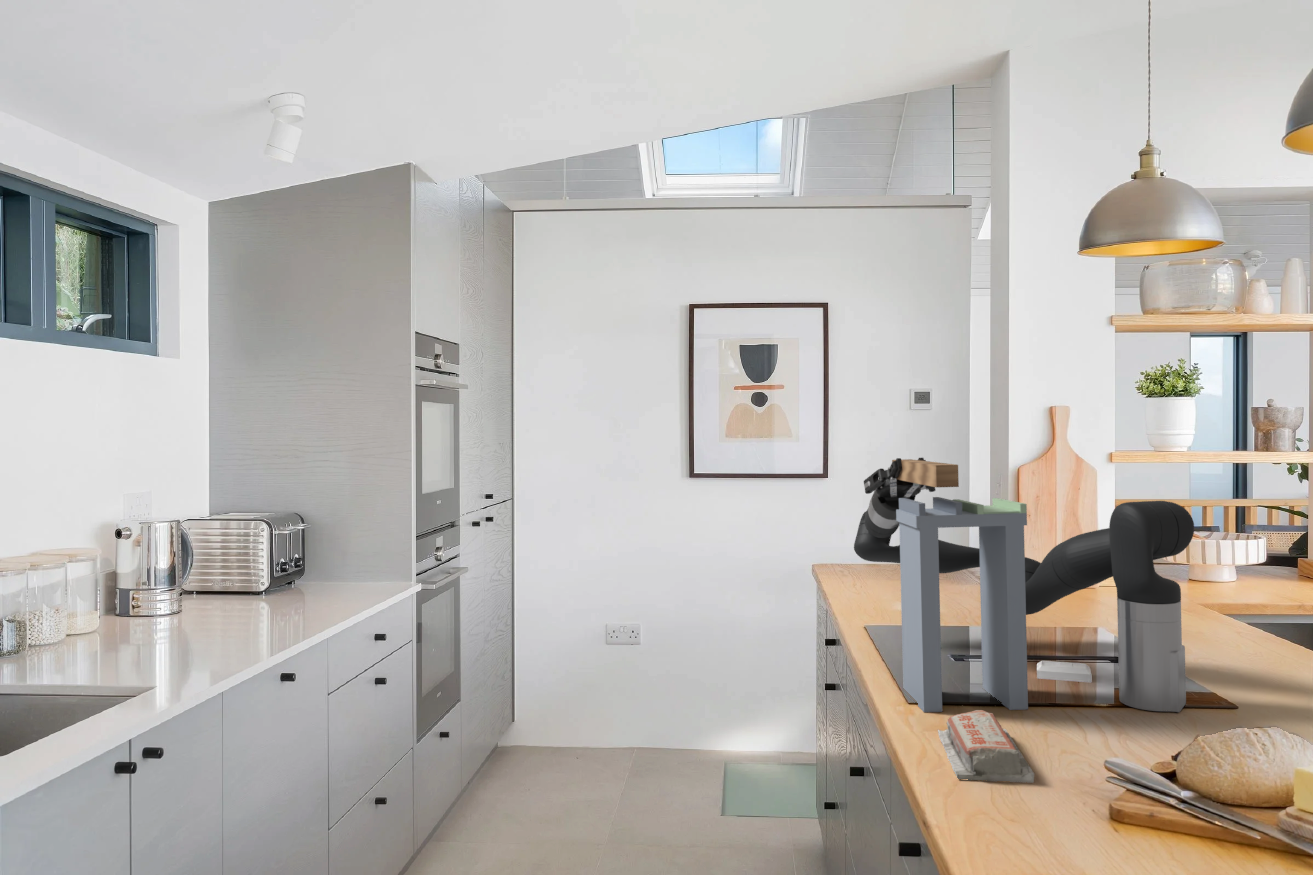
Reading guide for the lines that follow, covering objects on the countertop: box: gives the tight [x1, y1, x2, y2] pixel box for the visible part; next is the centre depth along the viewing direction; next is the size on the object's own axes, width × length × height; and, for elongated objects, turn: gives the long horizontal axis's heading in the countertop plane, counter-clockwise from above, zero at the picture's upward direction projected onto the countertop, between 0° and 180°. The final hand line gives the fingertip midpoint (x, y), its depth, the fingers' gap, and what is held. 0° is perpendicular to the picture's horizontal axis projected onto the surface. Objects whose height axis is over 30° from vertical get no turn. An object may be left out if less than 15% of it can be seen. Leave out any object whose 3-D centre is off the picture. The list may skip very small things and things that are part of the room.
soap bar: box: [1036, 660, 1093, 684], centre depth 165 cm, size 5×9×3 cm, turn 67°
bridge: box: [896, 496, 1029, 713], centre depth 152 cm, size 12×18×34 cm, turn 90°
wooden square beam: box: [891, 458, 959, 488], centre depth 155 cm, size 26×4×4 cm, turn 0°
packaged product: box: [937, 709, 1035, 784], centre depth 126 cm, size 18×5×10 cm
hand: (911, 462), depth 162 cm, fingers closed on wooden square beam, 3 cm apart
